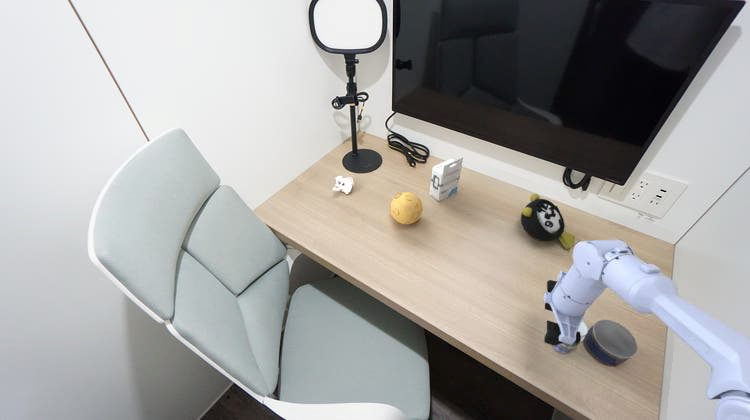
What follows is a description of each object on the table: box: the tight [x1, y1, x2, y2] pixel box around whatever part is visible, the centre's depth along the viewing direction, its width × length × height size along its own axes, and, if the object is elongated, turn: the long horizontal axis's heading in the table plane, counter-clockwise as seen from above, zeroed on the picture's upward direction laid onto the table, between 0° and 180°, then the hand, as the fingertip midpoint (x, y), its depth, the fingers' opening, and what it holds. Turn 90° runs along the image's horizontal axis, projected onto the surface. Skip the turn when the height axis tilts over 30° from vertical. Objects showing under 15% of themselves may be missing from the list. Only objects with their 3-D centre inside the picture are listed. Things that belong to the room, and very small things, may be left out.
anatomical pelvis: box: [332, 175, 354, 195], centre depth 110 cm, size 8×4×7 cm
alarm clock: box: [520, 193, 576, 250], centre depth 90 cm, size 12×15×15 cm
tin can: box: [582, 319, 638, 367], centre depth 68 cm, size 8×8×5 cm
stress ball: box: [390, 191, 424, 225], centre depth 96 cm, size 10×10×10 cm
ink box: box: [429, 157, 464, 202], centre depth 103 cm, size 8×5×15 cm, turn 124°
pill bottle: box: [551, 320, 589, 354], centre depth 68 cm, size 5×5×8 cm
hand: (549, 325), depth 65 cm, fingers open, 7 cm apart
